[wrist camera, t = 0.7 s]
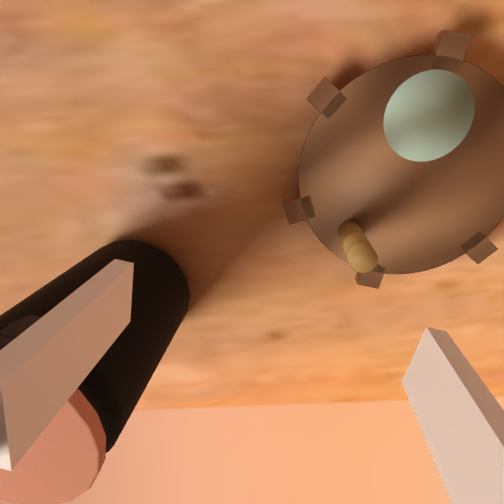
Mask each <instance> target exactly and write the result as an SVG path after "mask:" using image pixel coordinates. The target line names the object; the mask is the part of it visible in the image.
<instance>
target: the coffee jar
mask: <svg viewBox="0 0 504 504" xmlns="http://www.w3.org/2000/svg"><path fill="white" fill-rule="evenodd" d="M114 259H118V260H122V261H127V262H131V263H134V268H133V285H132V302H131V319H130V322H129V324H128V325H127V326H126V327H125V329H124V330H123V331H122V332H121V334H120V335H119V336H118V337H117V339H116V340H115V341H114V343H113V344H112V345H111V346H110V348H109V349H108V350H107V351H106V353H105V354H104V355H103V356H102V358H101V359H100V360H99V361H98V363H97V364H96V365H95V366H94V368H93V369H92V370H91V371H90V373H89V374H88V375H87V377H86V378H85V379H84V380H83V382H82V383H81V384H80V385H79V387H78V388H77V389H76V390H75V392H74V393H73V394H72V395H71V397H70V398H69V399H68V400H67V402H66V403H65V404H64V405H63V407H62V408H61V409H60V411H59V412H58V413H57V414H56V416H55V417H54V418H53V419H52V421H51V422H50V423H49V424H48V426H47V427H46V428H45V429H44V431H43V432H42V433H41V434H40V436H39V437H38V438H37V439H36V441H35V442H34V443H33V445H32V446H31V447H30V448H29V450H28V451H27V452H26V453H25V455H24V456H23V457H22V458H21V460H20V461H19V462H18V463H17V465H16V466H15V467H14V468H13V470H12V471H9V470H5V469H1V468H0V499H4V500H7V501H11V502H15V503H19V504H59V503H64V502H68V501H72V500H74V499H75V498H76V497H78V496H80V495H81V494H83V493H84V492H85V491H87V490H88V489H90V488H91V486H92V484H93V482H94V480H95V478H96V477H97V475H98V473H99V471H100V469H101V467H102V465H103V463H104V460H105V454H106V453H107V452H108V451H109V450H110V449H111V448H112V447H113V446H114V444H115V442H116V441H117V439H118V437H119V435H120V433H121V431H122V430H123V428H124V426H125V424H126V422H127V420H128V419H129V417H130V415H131V413H132V412H133V410H134V408H135V406H136V404H137V402H138V401H139V399H140V397H141V395H142V393H143V391H144V390H145V388H146V386H147V384H148V382H149V380H150V379H151V377H152V375H153V373H154V371H155V369H156V368H157V366H158V364H159V362H160V360H161V358H162V357H163V355H164V353H165V351H166V349H167V347H168V346H169V344H170V342H171V340H172V338H173V336H174V335H175V333H176V331H177V329H178V327H179V325H180V324H181V322H182V320H183V318H184V316H185V314H186V313H187V311H188V305H189V297H190V295H189V290H188V286H187V281H186V278H185V276H184V274H183V273H182V271H181V269H180V267H179V266H178V264H177V263H176V262H175V261H174V260H173V259H172V258H171V257H170V256H169V255H168V254H167V253H166V252H164V251H162V250H160V249H158V248H156V247H155V246H153V245H151V244H147V243H143V242H138V241H134V240H128V241H117V242H113V243H110V244H108V245H106V246H104V247H102V248H100V249H98V250H97V251H95V252H94V253H92V254H91V255H89V256H88V257H86V258H85V259H84V260H82V261H81V262H79V263H78V264H76V265H75V266H73V267H72V268H70V269H69V270H67V271H66V272H64V273H63V274H61V275H60V276H58V277H57V278H55V279H54V280H52V281H51V282H49V283H48V284H46V285H45V286H44V287H42V288H41V289H39V290H38V291H36V292H35V293H33V294H32V295H30V296H29V297H27V298H26V299H24V300H23V301H21V302H20V303H18V304H17V305H15V306H14V307H12V308H11V309H9V310H8V311H6V312H5V313H3V314H2V315H1V316H0V331H1V330H2V329H3V328H5V327H6V326H7V325H9V324H10V323H11V322H14V321H16V320H19V319H21V318H24V317H26V316H28V315H34V316H38V317H43V316H44V315H45V314H47V313H48V312H49V311H50V310H52V309H53V308H54V307H55V306H57V305H58V304H59V303H60V302H62V301H63V300H64V299H65V298H67V297H68V296H69V295H70V294H72V293H73V292H74V291H75V290H77V289H78V288H79V287H80V286H82V285H83V284H84V283H85V282H87V281H88V280H89V279H90V278H92V277H93V276H94V275H95V274H97V273H98V272H99V271H100V270H102V269H103V268H104V267H105V266H107V265H108V264H109V263H110V262H112V261H113V260H114Z"/></svg>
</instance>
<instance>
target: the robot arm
mask: <svg viewBox="0 0 504 504" xmlns="http://www.w3.org/2000/svg"><path fill="white" fill-rule="evenodd" d="M133 268H134V263H131V262H127V261H122V260H118V259H114V260H113V261H112V262H110V263H109V264H108V265H107V266H105V267H104V268H103V269H102V270H100V271H99V272H98V273H97V274H95V275H94V276H93V277H92V278H90V279H89V280H88V281H87V282H85V283H84V284H83V285H82V286H80V287H79V288H78V289H77V290H75V291H74V292H73V293H72V294H70V295H69V296H68V297H67V298H65V299H64V300H63V301H62V302H60V303H59V304H58V305H57V306H55V307H54V308H53V309H52V310H50V311H49V312H48V313H47V314H45V315H44V316H43V317H38V316H34V315H28V316H26V317H24V318H21V319H19V320H16V321H14V322H11V323H10V324H9V325H7V326H6V327H5V328H3V329H2V330H1V331H0V468H1V469H5V470H9V471H12V470H13V468H14V467H15V466H16V465H17V463H18V462H19V461H20V460H21V458H22V457H23V456H24V455H25V453H26V452H27V451H28V450H29V448H30V447H31V446H32V445H33V443H34V442H35V441H36V439H37V438H38V437H39V436H40V434H41V433H42V432H43V431H44V429H45V428H46V427H47V426H48V424H49V423H50V422H51V421H52V419H53V418H54V417H55V416H56V414H57V413H58V412H59V411H60V409H61V408H62V407H63V405H64V404H65V403H66V402H67V400H68V399H69V398H70V397H71V395H72V394H73V393H74V392H75V390H76V389H77V388H78V387H79V385H80V384H81V383H82V382H83V380H84V379H85V378H86V377H87V375H88V374H89V373H90V371H91V370H92V369H93V368H94V366H95V365H96V364H97V363H98V361H99V360H100V359H101V358H102V356H103V355H104V354H105V353H106V351H107V350H108V349H109V348H110V346H111V345H112V344H113V343H114V341H115V340H116V339H117V337H118V336H119V335H120V334H121V332H122V331H123V330H124V329H125V327H126V326H127V325H128V324H129V322H130V319H131V302H132V285H133ZM402 385H403V387H404V390H405V392H406V394H407V397H408V399H409V402H410V404H411V406H412V409H413V411H414V414H415V416H416V418H417V421H418V423H419V426H420V428H421V431H422V433H423V435H424V438H425V440H426V443H427V445H428V447H429V450H430V452H431V455H432V457H433V460H434V462H435V464H436V467H437V469H438V471H439V474H440V476H441V479H442V481H443V484H444V486H445V488H446V491H447V493H448V496H449V498H450V501H451V503H452V504H504V411H503V409H502V408H501V406H500V405H499V403H498V402H497V401H496V399H495V398H494V396H493V395H492V394H491V392H490V391H489V390H488V388H487V387H486V385H485V384H484V383H483V381H482V380H481V378H480V377H479V376H478V374H477V373H476V372H475V370H474V369H473V367H472V366H471V365H470V363H469V362H468V361H467V359H466V358H465V356H464V355H463V354H462V352H461V351H460V349H459V348H458V347H457V345H456V344H455V343H454V341H453V340H452V338H451V337H450V336H449V334H448V333H447V331H442V330H438V329H433V328H429V327H426V329H425V331H424V334H423V336H422V338H421V340H420V342H419V345H418V347H417V349H416V351H415V353H414V356H413V358H412V360H411V362H410V364H409V367H408V369H407V371H406V373H405V375H404V378H403V380H402Z"/></svg>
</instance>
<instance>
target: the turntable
mask: <svg viewBox="0 0 504 504" xmlns="http://www.w3.org/2000/svg"><path fill="white" fill-rule="evenodd" d="M471 37H472V35H470V34H465V33H459V32H454V31H449V30H443V31H441V32H440V33H438V34H437V36H436V39H435V42H434V45H433V48H432V51H431V54H430V55H417V56H411V57H405V58H400V59H397V60H393V61H390V62H387V63H384V64H382V65H380V66H377V67H375V68H373V69H371V70H369V71H367V72H365V73H364V74H362V75H361V76H359V77H357V78H356V79H354V80H353V81H351V82H350V83H349V84H347V85H346V86H345V87H344V88H342V89H341V90H340V91H339V90H338V89H337V88H336V87H335V86H334V85H333V84H332V83H331V82H330V81H329V80H328V79H327V78H326V77H324V78H323V79H322V80H321V82H320V83H319V84H318V85H317V86H316V88H315V89H314V90H313V91H312V92H311V94H310V95H309V96H308V97H307V98H306V99H307V100H308V101H309V102H310V103H311V104H312V105H313V106H314V107H315V108H316V109H317V110H318V111H319V112H320V114H319V115H318V117H317V118H316V120H315V122H314V123H313V125H312V127H311V129H310V131H309V134H308V136H307V138H306V140H305V144H304V147H303V150H302V154H301V159H300V165H299V190H300V195H299V196H296V197H293V198H290V199H287V200H283V206H284V209H285V212H286V215H287V218H288V221H289V224H293V223H296V222H300V221H303V220H306V219H307V221H308V223H309V224H310V226H311V228H312V230H313V232H314V233H315V234H316V236H317V237H318V238H319V240H320V241H321V242H322V243H323V244H324V245H325V246H326V247H327V248H328V249H329V250H330V251H331V252H332V253H334V254H335V255H336V256H338V257H339V258H341V259H342V260H344V261H346V262H347V263H349V264H350V266H351V268H352V269H353V270H354V271H356V272H357V274H356V277H355V279H356V282H357V284H359V285H363V286H368V287H372V288H377V289H378V288H379V286H380V283H381V280H382V278H383V275H384V274H409V273H416V272H421V271H426V270H429V269H433V268H436V267H439V266H441V265H444V264H446V263H448V262H451V261H453V260H455V259H456V258H458V257H460V256H462V255H464V254H465V253H466V254H467V255H468V256H469V257H470V258H471V259H472V260H473V261H475V262H476V263H477V264H479V263H481V262H482V261H483V260H484V259H486V258H487V257H488V256H490V255H491V254H492V253H494V252H495V251H496V250H498V248H497V247H496V246H495V245H494V244H493V243H492V242H491V241H490V240H489V239H488V238H487V236H488V235H489V234H490V233H491V231H492V230H493V229H494V228H495V227H496V226H497V225H498V224H499V222H500V221H501V219H502V218H503V217H504V87H503V86H502V85H501V84H500V83H499V82H498V81H497V80H496V79H495V78H494V77H493V76H491V75H490V74H488V73H487V72H485V71H484V70H482V69H481V68H479V67H477V66H475V65H473V64H471V63H468V62H466V61H463V59H464V56H465V53H466V51H467V48H468V45H469V43H470V40H471Z"/></svg>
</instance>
